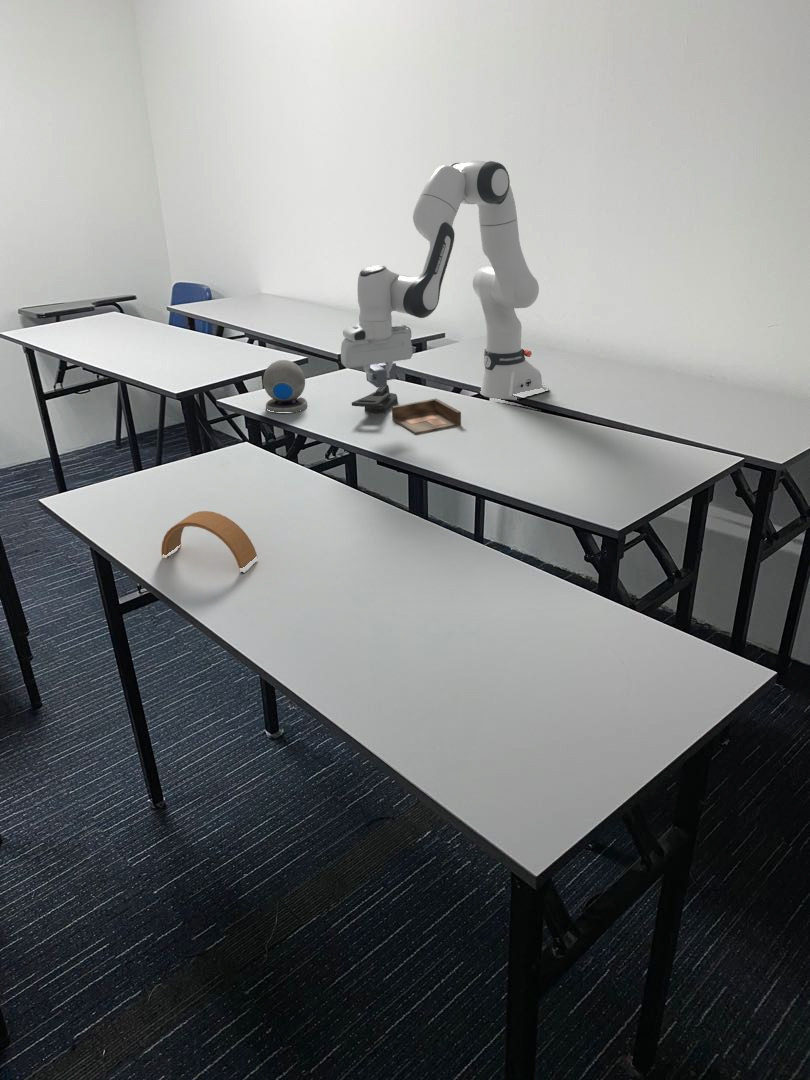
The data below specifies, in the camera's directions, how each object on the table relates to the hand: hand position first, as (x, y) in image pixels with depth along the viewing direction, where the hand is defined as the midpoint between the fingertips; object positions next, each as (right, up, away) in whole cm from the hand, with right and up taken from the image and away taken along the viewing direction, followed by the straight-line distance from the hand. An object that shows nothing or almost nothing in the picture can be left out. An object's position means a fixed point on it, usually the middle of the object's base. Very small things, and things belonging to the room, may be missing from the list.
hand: (378, 378), depth 228 cm
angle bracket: (+2, 0, +3) cm, 3 cm away
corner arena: (+14, -10, +14) cm, 22 cm away
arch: (-33, -49, -58) cm, 83 cm away
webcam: (-30, -3, +30) cm, 43 cm away
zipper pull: (-2, -6, +25) cm, 25 cm away
